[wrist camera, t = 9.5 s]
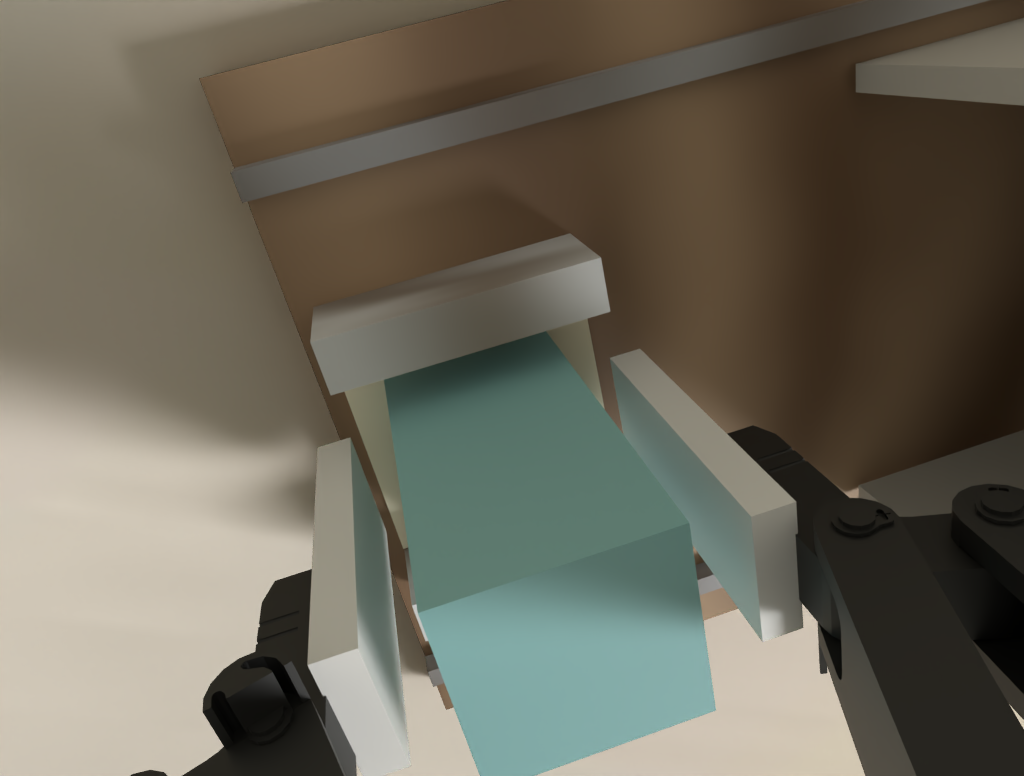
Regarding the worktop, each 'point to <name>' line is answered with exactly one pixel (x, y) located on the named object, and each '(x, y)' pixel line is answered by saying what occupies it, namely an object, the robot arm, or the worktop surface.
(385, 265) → the board
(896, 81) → the housing
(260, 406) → the worktop surface
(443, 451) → the teal block
